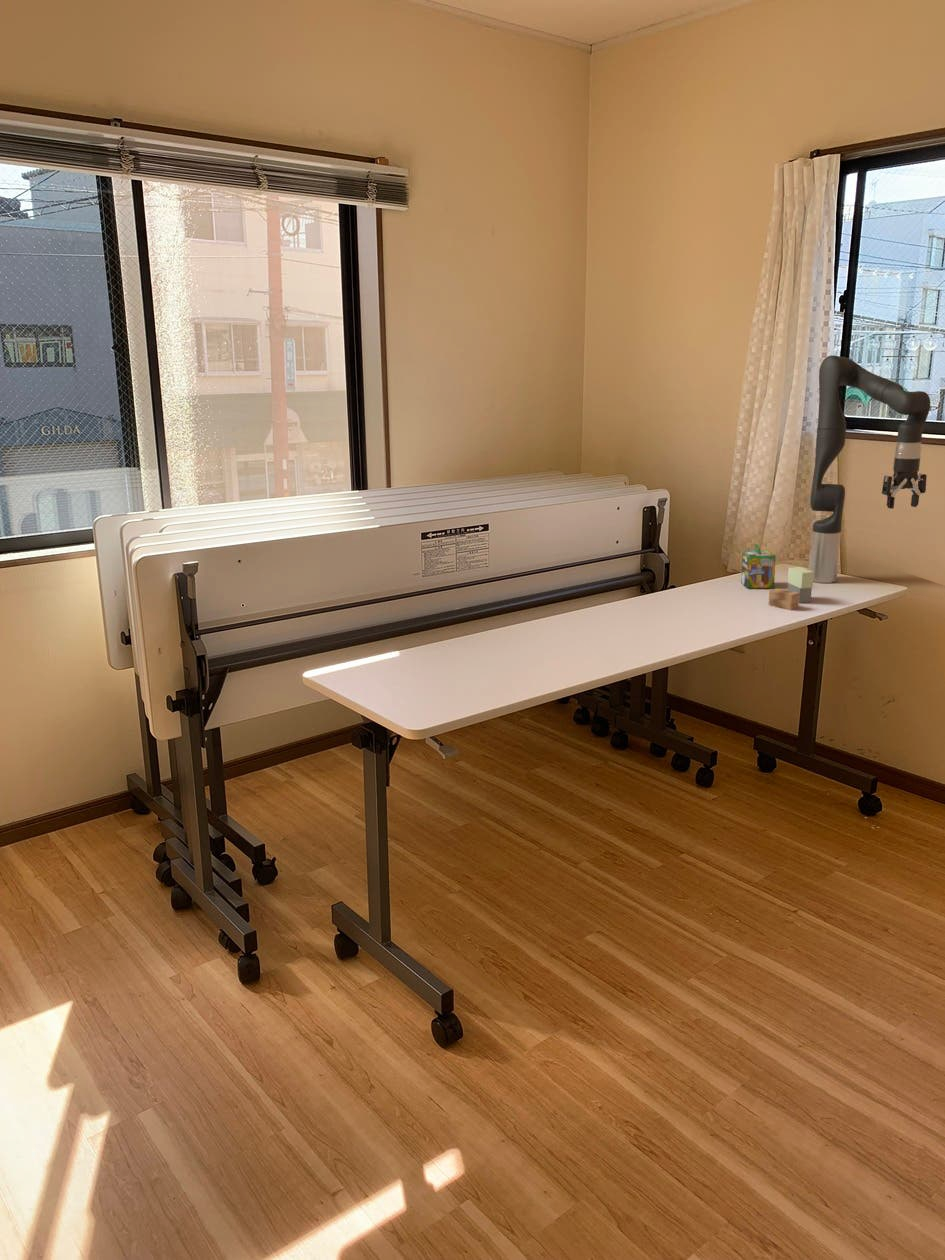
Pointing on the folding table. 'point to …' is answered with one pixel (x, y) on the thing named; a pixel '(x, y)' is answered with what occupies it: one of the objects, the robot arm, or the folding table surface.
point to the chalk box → (758, 569)
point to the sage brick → (800, 577)
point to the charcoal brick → (801, 593)
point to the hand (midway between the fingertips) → (902, 507)
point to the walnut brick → (783, 599)
